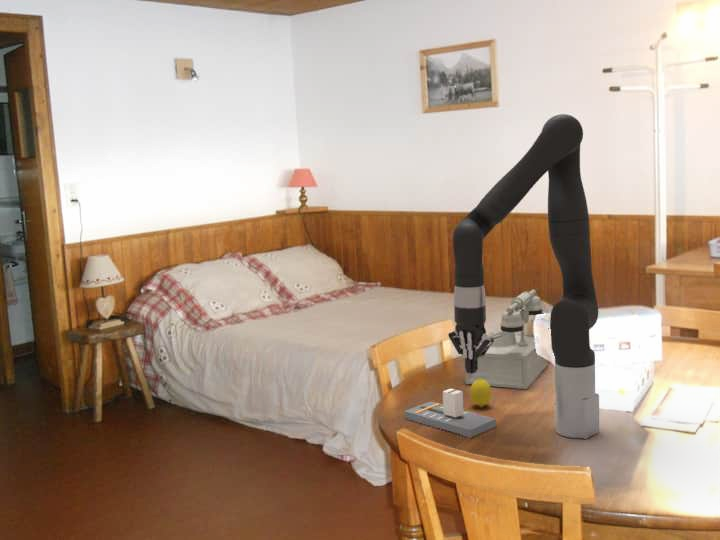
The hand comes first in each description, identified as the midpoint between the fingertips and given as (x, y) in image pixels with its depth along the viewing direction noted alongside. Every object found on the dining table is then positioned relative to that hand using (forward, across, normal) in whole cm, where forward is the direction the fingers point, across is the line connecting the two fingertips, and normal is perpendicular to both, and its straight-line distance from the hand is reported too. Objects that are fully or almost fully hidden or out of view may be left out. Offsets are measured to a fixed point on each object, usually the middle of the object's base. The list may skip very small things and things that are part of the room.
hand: (471, 372), depth 201 cm
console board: (+15, +8, 0) cm, 16 cm away
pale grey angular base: (+15, +20, -43) cm, 50 cm away
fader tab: (+12, +6, 0) cm, 14 cm away
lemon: (+15, +9, -14) cm, 22 cm away
